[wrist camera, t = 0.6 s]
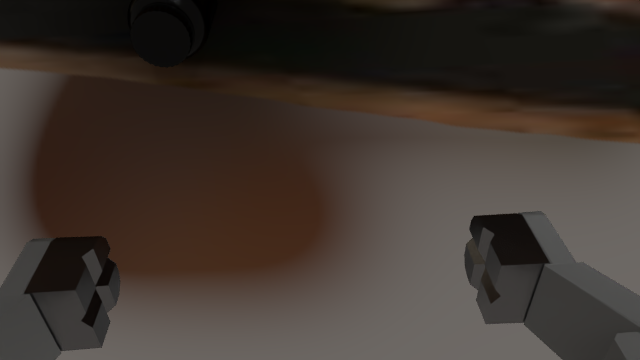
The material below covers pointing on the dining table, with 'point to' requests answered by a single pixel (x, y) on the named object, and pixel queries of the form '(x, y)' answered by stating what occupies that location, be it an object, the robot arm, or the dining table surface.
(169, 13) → the supplement bottle
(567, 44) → the dining table surface
